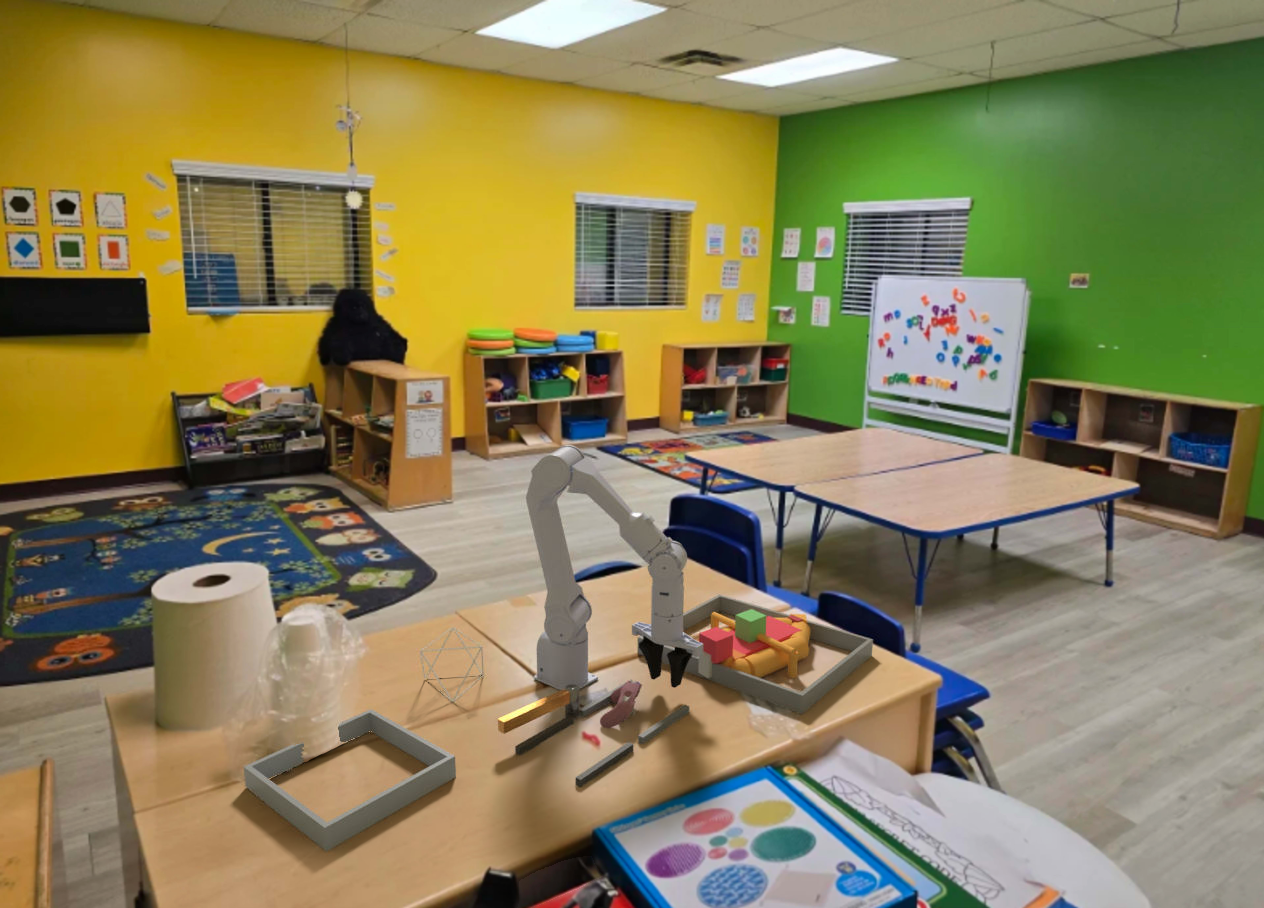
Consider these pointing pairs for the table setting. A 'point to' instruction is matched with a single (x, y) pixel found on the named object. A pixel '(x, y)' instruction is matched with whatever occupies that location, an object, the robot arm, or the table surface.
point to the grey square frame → (369, 810)
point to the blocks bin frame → (762, 687)
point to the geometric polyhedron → (451, 649)
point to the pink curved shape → (621, 704)
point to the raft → (755, 643)
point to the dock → (614, 756)
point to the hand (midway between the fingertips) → (665, 681)
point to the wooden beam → (542, 709)
